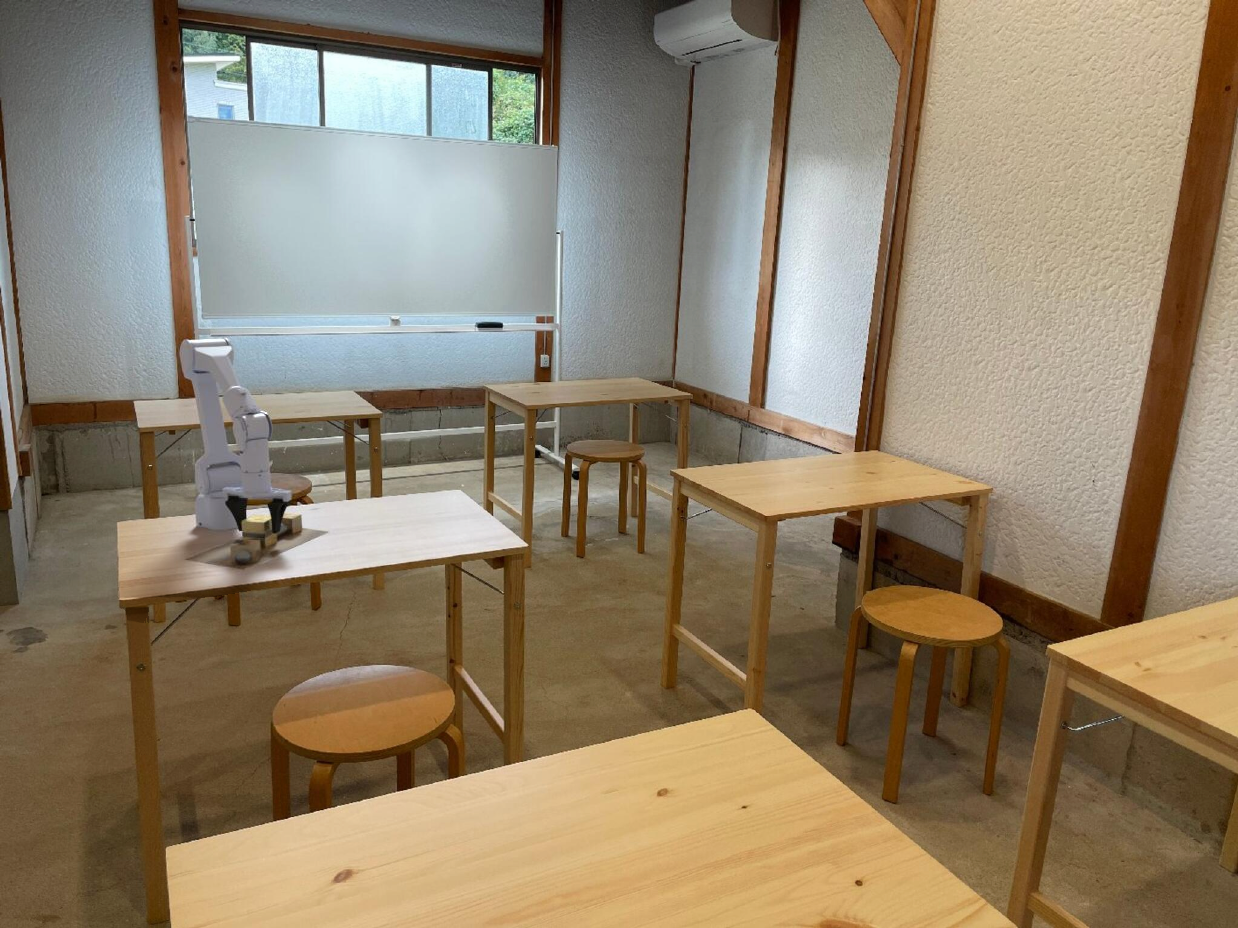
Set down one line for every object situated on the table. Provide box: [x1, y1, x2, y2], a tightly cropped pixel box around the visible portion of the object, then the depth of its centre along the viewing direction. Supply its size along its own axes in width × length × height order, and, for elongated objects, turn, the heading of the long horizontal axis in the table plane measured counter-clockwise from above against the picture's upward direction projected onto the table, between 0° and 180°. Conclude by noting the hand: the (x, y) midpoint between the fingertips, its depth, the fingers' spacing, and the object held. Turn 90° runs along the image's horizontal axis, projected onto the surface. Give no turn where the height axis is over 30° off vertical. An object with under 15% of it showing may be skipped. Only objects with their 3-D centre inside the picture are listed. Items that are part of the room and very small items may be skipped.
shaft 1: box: [230, 538, 262, 565], centre depth 183 cm, size 9×5×4 cm, turn 6°
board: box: [184, 527, 329, 570], centre depth 192 cm, size 15×27×1 cm, turn 161°
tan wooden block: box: [241, 514, 277, 549], centre depth 191 cm, size 5×5×6 cm
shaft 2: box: [277, 512, 303, 538], centre depth 199 cm, size 9×5×4 cm, turn 166°
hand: (259, 531), depth 191 cm, fingers open, 7 cm apart
